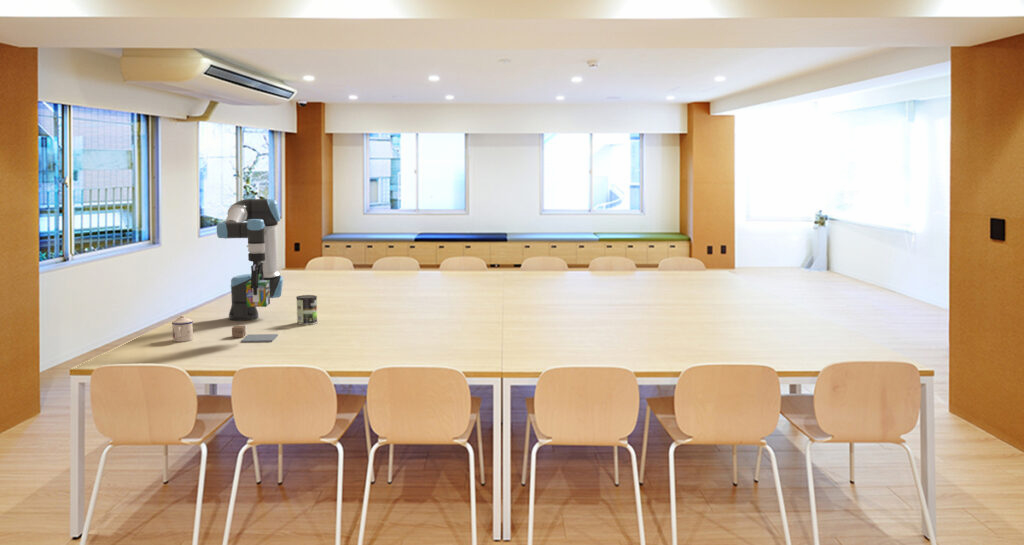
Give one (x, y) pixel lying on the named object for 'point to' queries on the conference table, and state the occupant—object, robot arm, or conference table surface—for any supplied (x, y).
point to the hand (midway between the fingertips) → (258, 300)
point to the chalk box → (263, 293)
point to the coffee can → (306, 309)
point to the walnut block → (238, 331)
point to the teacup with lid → (182, 329)
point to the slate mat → (259, 338)
